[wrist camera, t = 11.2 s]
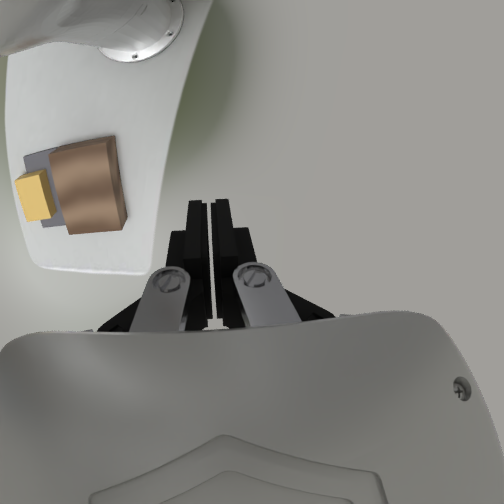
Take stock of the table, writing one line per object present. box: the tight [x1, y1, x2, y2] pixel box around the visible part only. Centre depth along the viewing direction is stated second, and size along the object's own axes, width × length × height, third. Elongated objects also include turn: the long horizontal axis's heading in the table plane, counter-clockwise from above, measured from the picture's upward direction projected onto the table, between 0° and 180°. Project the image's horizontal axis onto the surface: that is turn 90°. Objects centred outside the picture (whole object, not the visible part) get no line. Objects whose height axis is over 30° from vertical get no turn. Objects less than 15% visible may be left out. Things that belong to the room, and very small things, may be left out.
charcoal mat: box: [23, 147, 66, 228], centre depth 35 cm, size 14×8×1 cm, turn 177°
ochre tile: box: [15, 169, 57, 222], centre depth 34 cm, size 8×6×2 cm
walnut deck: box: [48, 136, 127, 235], centre depth 35 cm, size 14×10×4 cm
